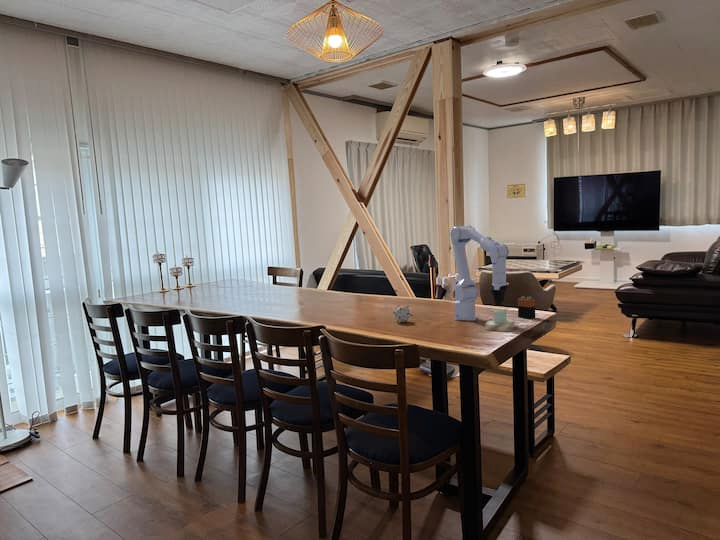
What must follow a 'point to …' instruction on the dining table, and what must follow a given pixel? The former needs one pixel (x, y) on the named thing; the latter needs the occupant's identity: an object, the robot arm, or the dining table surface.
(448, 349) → the dining table surface
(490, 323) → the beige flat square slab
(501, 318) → the mint block
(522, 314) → the battery
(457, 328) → the dining table surface
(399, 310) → the grey spiky ball
